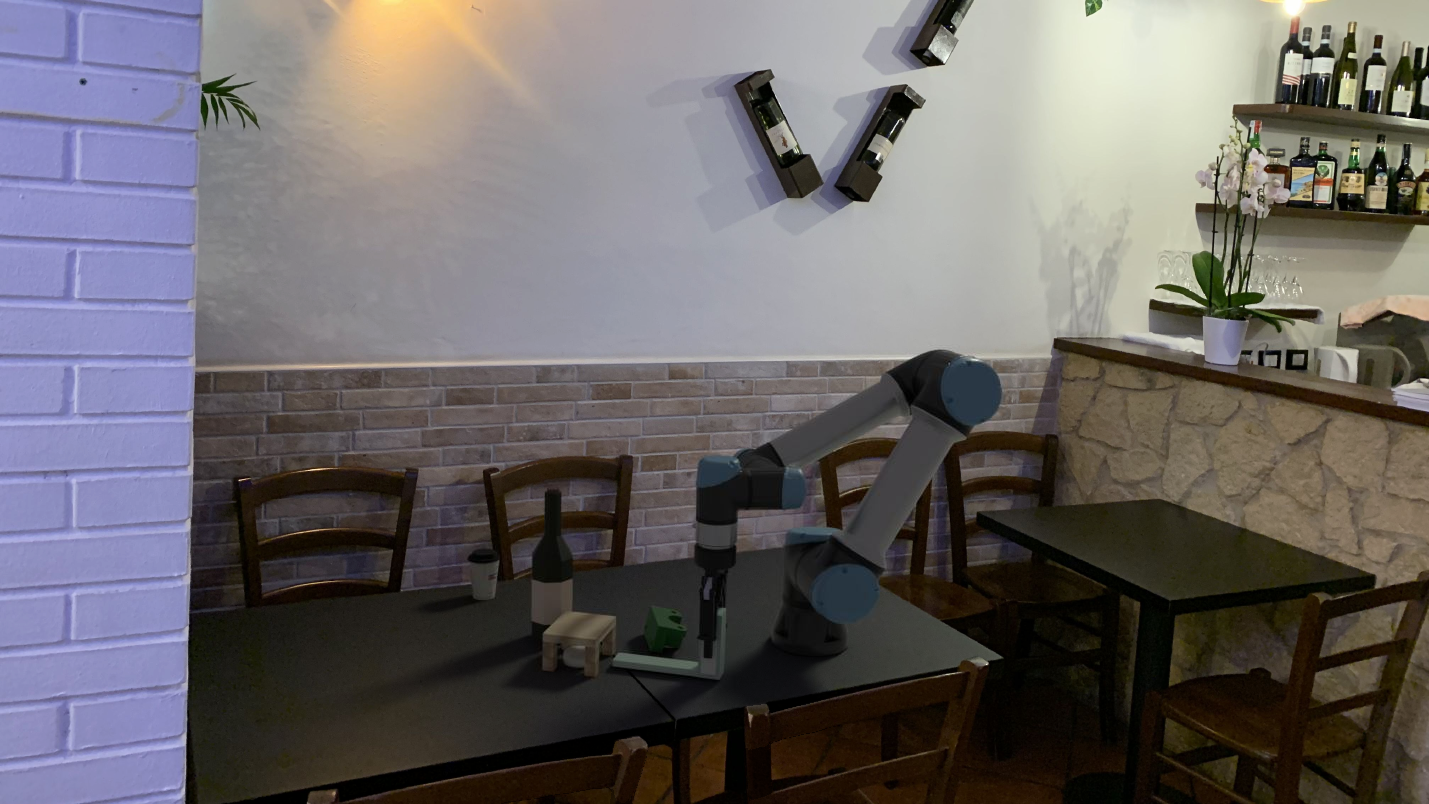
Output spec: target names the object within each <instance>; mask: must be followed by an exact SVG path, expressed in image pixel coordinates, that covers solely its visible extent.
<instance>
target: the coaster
mask: <svg viewBox="0 0 1429 804" xmlns="http://www.w3.org/2000/svg"><path fill="white" fill-rule="evenodd" d="M563 664H564V665H565V666H567V667H570V668H578V669H579V668H585V646H577V645H575V646H572V647H569V648H567V649H565V650H563Z"/></svg>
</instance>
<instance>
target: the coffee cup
mask: <svg viewBox="0 0 1429 804" xmlns="http://www.w3.org/2000/svg"><path fill="white" fill-rule="evenodd" d="M500 556H501V555H500V554H499V553H498V552H497V550H495V549H492V548H485V547H484V548H477V549H474V550H473V551H472V552H471V553H470V554H468V556H467V558H466V559H467V562H468V568H469V576H470V583H471V590H472V598H473V599H475V600H476V601H487V600H489V601H490V600H492V599H494V598H495V597H496V596H495V595H496V590H497V589H496V588H497V581H498V573H499V565H500V560H501V557H500Z"/></svg>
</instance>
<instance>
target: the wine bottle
mask: <svg viewBox="0 0 1429 804" xmlns="http://www.w3.org/2000/svg"><path fill="white" fill-rule="evenodd" d="M543 509H544V515H543V516H544V517H543V518H544V520H543V522H544V524H543V525H544V527H543V528H544V529H543V530H544V531H543V535H542V537H540V540H539V542H538V543H537V544H536V546H535V548H534V549H533V551H532V553H531V625H530V626H531V634H530V635H531V636H530V637H531V642H532V643H534V644H537V645H541V646H543V633H544V632H545V631H546V630H547V629H548V628H549V627H550V626H551V625H552V624H553V623H554V622H555V621H556V620H557V619H558V618H559V617H560V616H561V615H562V614H563V613H564V612H565V611H572V612H573V587H574V585H573V581H574V580H573V579H574V575H573V574H574V556H573V551H572V550H571V549H570V547H569V545H568V544H567V542H566V540H565V538H564V537H563V535H562V491H561V490H560V487H557V486H549V487H546V491H544V508H543ZM560 645H561V646H562V644H560V643H557V646H560Z"/></svg>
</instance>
